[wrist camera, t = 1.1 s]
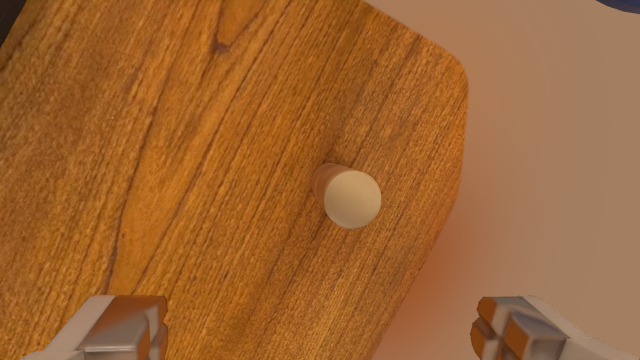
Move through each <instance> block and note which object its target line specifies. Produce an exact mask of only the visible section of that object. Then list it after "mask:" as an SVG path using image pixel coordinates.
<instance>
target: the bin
mask: <svg viewBox="0 0 640 360" xmlns="http://www.w3.org/2000/svg"><path fill="white" fill-rule="evenodd" d="M25 1H26V0H0V47H1V45H2V43H3V41H4V39H5V38H6V36H7V34H8V32H9V30H10V29H11V27H12V25H13V23H14V21H15V19H16V18H17V16H18V14H19V12H20V10H21V9H22V7H23V5H24V3H25Z"/></svg>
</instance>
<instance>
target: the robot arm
mask: <svg viewBox="0 0 640 360" xmlns="http://www.w3.org/2000/svg"><path fill="white" fill-rule="evenodd" d="M477 311H478V313H479V316H480V317H478V318H477V319H476V320H475V321H474V322H473V324H472V329H471V332H470V335H471V342H472V346H473V348H474V351H475V353H476V354H477V356H478V357H479V358H480V360H640V359H639V358H637V357H635V356H633V355H631V354H629V353H627V352H624V351H622V350H620V349H618V348H616V347H614V346H612V345H609V344H607V343H605V342H603V341H601V340H599V339H596V338H589V337H588V336H587V335H586V334H585V333H583V332H582V331H580V330H579V329H578V328H577V327H576V326H574V325H573V324H572V323H571V322H570V321H568V320H567V319H566V318H564V317H563V316H562V315H561V314H560V313H558V312H557V311H556V310H554V309H553V308H552V307H551V306H550V305H548V304H547V303H546V302H544V301H543V300H542V299H541V298H539V297H536V296H516V297H483V298H482V299H481V300H480V301H479V303H478V307H477ZM167 312H168V309H167V299H166V297H165V296H139V295H118V296H117V295H94V296H91V297H89V298H88V299H87V300H86V301H85V302H84V304H83V305H82V306H81V307H80V308H79V309H78V311H77V312H76V313H75V314H74V315H73V316H72V318H71V319H70V320H69V321H68V322H67V323H66V324H65V326H64V327H63V328H62V329H61V330H60V331H59V333H58V334H57V335H56V336H55V337H54V338H53V340H52V341H51V342H50V343H49V344H48V345H47V347H46V348H45V349H44V350H43V351H34V352H32V353H30V354H28V355H26V356H24V357H23V358H21V359H19V360H165V355H166V351H167V346H168V327H167V326H166V324H165V323H164V322H163V321H164V318H165V316H166V314H167Z"/></svg>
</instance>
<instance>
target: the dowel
mask: <svg viewBox="0 0 640 360" xmlns="http://www.w3.org/2000/svg"><path fill="white" fill-rule="evenodd" d="M310 184H311V190H312V192H313V194H314V195H315V197H316V198H317V200H318V201H319V203H320V205H321V206H322V208H323V209H324V211H325V212H326V214H327V215H328V217H329V218H330V219H331V220H332V221H333V222H334V223H335V224H337V225H338V226H340V227H343V228H347V229H356V228H360V227H363V226H365V225H367V224H368V223H370V222H371V221H372V220H373V219H374V218H375V217H376V215H377V213H378V212H379V209H380V206H381V192H380V189H379V186H378V184H377V183H376V181H375V180H374V179H373V178H372V177H371V176H369V175H368V174H366V173H363V172H361V171H358V170H355V169H352V168H349V167H346V166H343V165H340V164H336V163H325V164H323V165H321V166H319V167H318V168H317V169H316V170H315V171H314V173H313V174H312V177H311V182H310Z"/></svg>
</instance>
